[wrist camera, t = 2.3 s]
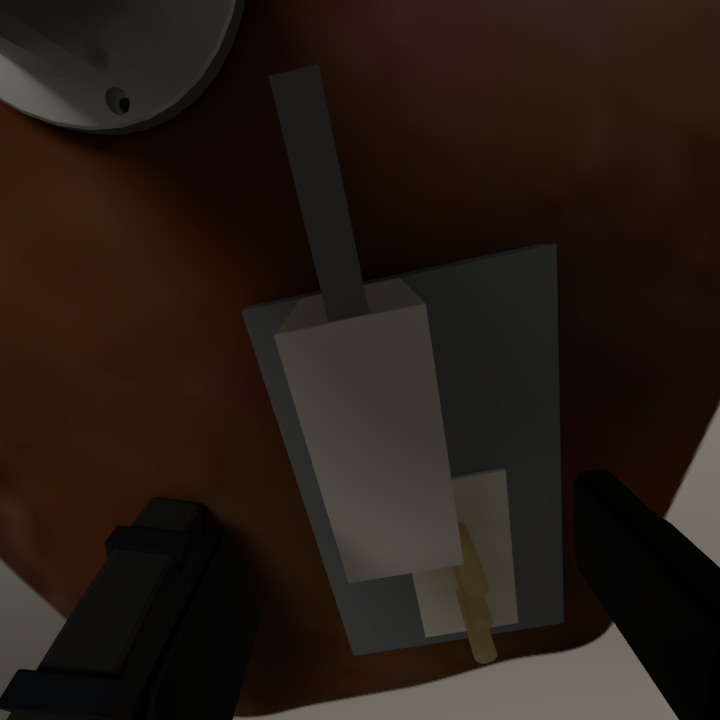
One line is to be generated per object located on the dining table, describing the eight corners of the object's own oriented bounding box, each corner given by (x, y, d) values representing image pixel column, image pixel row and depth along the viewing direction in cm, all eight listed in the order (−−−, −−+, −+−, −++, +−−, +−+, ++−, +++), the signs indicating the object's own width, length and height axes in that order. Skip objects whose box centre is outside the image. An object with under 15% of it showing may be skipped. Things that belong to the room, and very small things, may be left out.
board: (248, 305, 17) (210, 333, 13) (542, 243, 16) (616, 247, 12) (353, 636, 25) (353, 727, 21) (554, 604, 24) (600, 691, 20)
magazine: (202, 476, 18) (-55, 1112, 8) (224, 554, 28) (119, 894, 17) (126, 464, 18) (-247, 1112, 8) (174, 548, 27) (36, 890, 17)
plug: (262, 146, 14) (199, 89, 8) (373, 120, 14) (387, 42, 8) (350, 480, 19) (348, 583, 14) (431, 465, 19) (463, 564, 13)
